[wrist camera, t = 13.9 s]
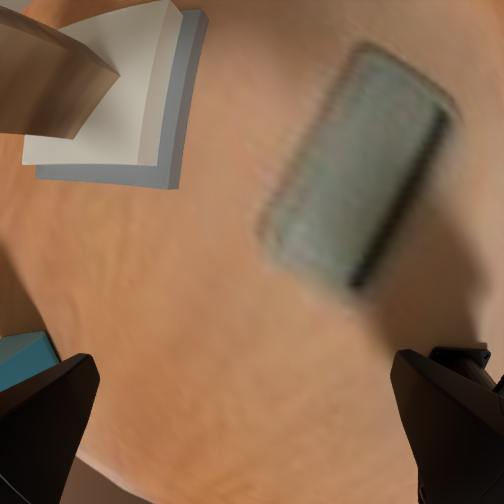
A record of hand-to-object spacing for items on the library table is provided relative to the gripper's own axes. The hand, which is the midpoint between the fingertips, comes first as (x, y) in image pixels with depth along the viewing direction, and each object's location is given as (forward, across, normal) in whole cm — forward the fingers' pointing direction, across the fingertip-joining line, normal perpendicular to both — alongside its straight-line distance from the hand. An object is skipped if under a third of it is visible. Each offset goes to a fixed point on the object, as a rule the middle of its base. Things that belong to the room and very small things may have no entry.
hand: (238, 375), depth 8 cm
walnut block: (+11, +11, -12) cm, 19 cm away
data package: (+15, +26, +12) cm, 33 cm away
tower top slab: (+13, +10, -12) cm, 20 cm away
